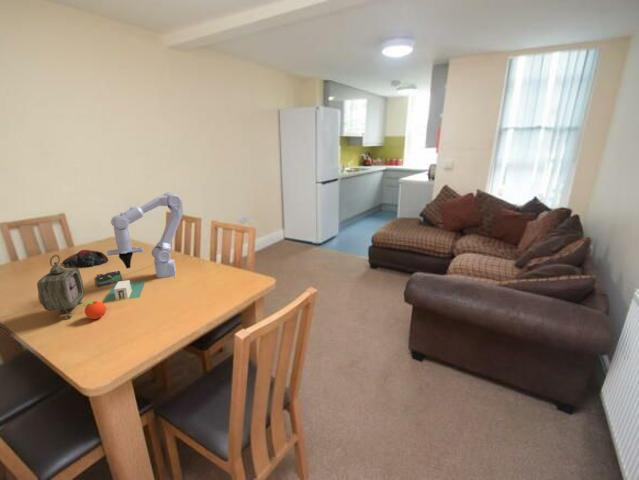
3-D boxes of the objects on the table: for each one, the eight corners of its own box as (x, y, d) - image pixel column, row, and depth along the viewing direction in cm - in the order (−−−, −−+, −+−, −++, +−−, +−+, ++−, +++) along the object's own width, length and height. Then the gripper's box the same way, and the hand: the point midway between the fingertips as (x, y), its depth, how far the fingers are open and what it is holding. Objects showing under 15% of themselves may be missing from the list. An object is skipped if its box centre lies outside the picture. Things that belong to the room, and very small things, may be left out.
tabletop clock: (72, 319, 123) (57, 260, 115) (45, 323, 120) (27, 263, 113) (87, 302, 136) (74, 248, 129) (63, 305, 134) (48, 250, 126)
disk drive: (97, 279, 160) (98, 290, 149) (96, 274, 160) (97, 284, 148) (120, 275, 166) (123, 284, 155) (119, 270, 166) (122, 279, 154)
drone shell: (112, 262, 183) (109, 249, 181) (71, 272, 168) (68, 258, 166) (99, 254, 196) (96, 242, 193) (60, 263, 181) (57, 250, 178)
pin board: (146, 282, 156) (144, 274, 155) (139, 299, 139) (138, 291, 138) (113, 286, 152) (112, 279, 150) (103, 304, 135) (101, 296, 133)
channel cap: (131, 289, 146) (129, 280, 144) (127, 297, 138) (125, 287, 137) (120, 291, 144) (118, 281, 143) (116, 299, 137) (113, 289, 135)
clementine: (81, 324, 120) (77, 308, 118) (85, 315, 126) (81, 300, 124) (105, 320, 123) (102, 304, 121) (109, 311, 129) (105, 296, 127)
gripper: (103, 244, 140) (109, 272, 144) (139, 241, 145) (144, 268, 149) (107, 240, 146) (112, 267, 150) (141, 237, 151) (146, 263, 155)
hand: (128, 267), depth 150 cm, fingers closed
